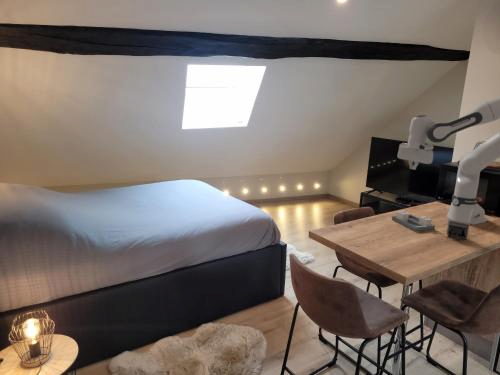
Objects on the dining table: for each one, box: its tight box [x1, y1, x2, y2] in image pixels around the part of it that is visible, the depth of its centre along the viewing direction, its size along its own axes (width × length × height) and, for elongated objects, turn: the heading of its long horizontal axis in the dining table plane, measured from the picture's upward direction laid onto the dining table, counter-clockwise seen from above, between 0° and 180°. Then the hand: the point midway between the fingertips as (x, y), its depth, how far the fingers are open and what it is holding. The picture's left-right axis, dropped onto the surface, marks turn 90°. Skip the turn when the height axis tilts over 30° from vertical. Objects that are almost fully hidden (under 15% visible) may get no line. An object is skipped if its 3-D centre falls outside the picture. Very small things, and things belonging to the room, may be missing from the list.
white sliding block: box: [396, 210, 410, 222], centre depth 204 cm, size 4×5×5 cm
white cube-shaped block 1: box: [418, 216, 433, 226], centre depth 196 cm, size 4×5×5 cm
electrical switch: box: [445, 219, 471, 241], centre depth 182 cm, size 9×5×9 cm, turn 57°
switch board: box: [391, 213, 436, 233], centre depth 200 cm, size 12×19×3 cm, turn 16°
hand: (412, 169), depth 205 cm, fingers closed
